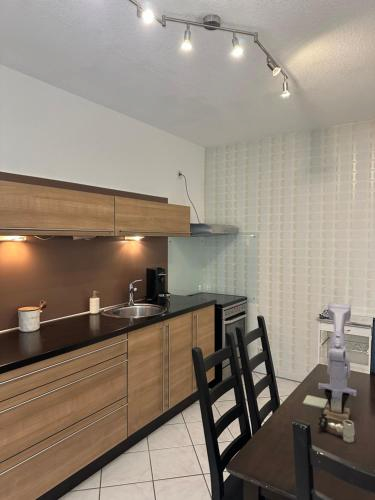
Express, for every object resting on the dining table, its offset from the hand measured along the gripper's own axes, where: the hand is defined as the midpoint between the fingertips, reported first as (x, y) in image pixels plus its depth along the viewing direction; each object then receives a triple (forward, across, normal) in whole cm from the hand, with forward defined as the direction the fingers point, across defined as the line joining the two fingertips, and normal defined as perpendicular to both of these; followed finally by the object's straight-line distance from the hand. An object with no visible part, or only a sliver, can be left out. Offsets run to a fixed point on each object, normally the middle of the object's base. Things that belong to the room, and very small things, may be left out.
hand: (336, 409), depth 146 cm
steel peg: (+3, 0, 0) cm, 3 cm away
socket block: (+3, 0, 0) cm, 3 cm away
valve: (+3, +2, -17) cm, 17 cm away
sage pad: (+3, -10, +8) cm, 13 cm away
